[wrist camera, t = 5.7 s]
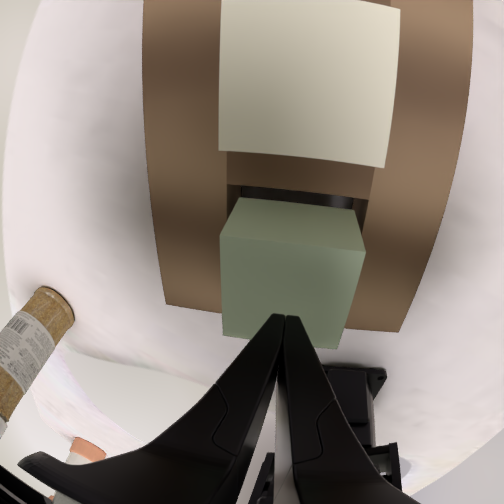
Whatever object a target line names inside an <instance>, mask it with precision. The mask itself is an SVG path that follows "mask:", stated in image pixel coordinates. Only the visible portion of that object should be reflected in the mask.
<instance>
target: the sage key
mask: <svg viewBox="0 0 504 504" xmlns="http://www.w3.org/2000/svg"><path fill="white" fill-rule="evenodd" d="M365 254H366V250H365V247H364V243H363V239H362V236H361V232H360V229H359V225H358V222H357V218H356V215H355V211H354V210H350V209H342V208H334V207H326V206H318V205H310V204H301V203H292V202H283V201H273V200H263V199H253V198H242V197H239V199H238V201H237V203H236V204H235V206H234V208H233V210H232V212H231V214H230V216H229V218H228V220H227V222H226V224H225V226H224V228H223V230H222V232H221V233H220V270H221V299H222V324H223V335H224V336H230V337H237V338H243V339H250V340H251V339H252V338H253V337H254V335H255V334H256V333H257V332H258V330H259V329H260V328H261V327H262V325H263V324H264V323H265V322H266V320H267V319H268V318H269V317H270V315H271V314H272V313H278V314H284V315H285V318H286V315H295V316H299V317H300V319H301V321H302V323H303V325H304V327H305V330H306V332H307V334H308V336H309V338H310V341H311V343H312V345H313V347H316V348H327V349H337V348H338V345H339V342H340V339H341V336H342V333H343V330H344V326H345V323H346V320H347V317H348V314H349V311H350V307H351V304H352V301H353V297H354V294H355V290H356V287H357V283H358V280H359V276H360V273H361V269H362V265H363V261H364V258H365Z"/></svg>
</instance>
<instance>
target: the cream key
mask: <svg viewBox="0 0 504 504" xmlns="http://www.w3.org/2000/svg"><path fill="white" fill-rule="evenodd" d="M399 35H400V9H397V8H393V7H389V6H385V5H380V4H376V3H371V2H366V1H360V0H222V1H221V27H220V62H219V151H237V152H252V153H265V154H277V155H288V156H298V157H307V158H316V159H324V160H332V161H339V162H346V163H353V164H360V165H366V166H373V167H379V168H384V166H385V160H386V155H387V148H388V142H389V136H390V129H391V122H392V114H393V106H394V98H395V88H396V78H397V67H398V53H399Z"/></svg>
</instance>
